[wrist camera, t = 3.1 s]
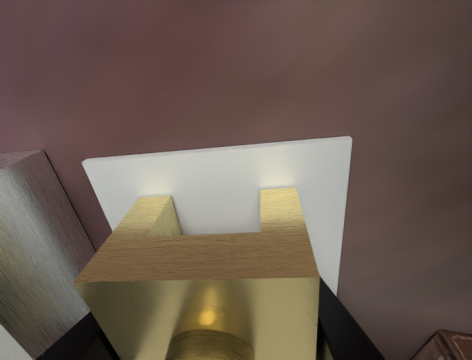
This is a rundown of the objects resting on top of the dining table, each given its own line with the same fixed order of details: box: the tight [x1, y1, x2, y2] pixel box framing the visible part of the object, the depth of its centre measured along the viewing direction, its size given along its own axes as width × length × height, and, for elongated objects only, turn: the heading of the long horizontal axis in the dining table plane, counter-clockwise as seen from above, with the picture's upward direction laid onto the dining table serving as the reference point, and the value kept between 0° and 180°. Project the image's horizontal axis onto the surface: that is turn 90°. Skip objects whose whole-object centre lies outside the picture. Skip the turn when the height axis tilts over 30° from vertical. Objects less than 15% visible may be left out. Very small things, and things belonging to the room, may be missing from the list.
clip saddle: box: [73, 187, 320, 360], centre depth 8 cm, size 6×6×6 cm
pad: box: [82, 136, 352, 295], centre depth 10 cm, size 9×9×1 cm
